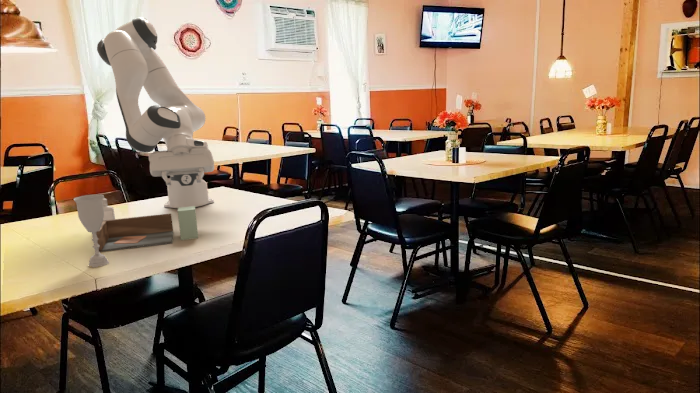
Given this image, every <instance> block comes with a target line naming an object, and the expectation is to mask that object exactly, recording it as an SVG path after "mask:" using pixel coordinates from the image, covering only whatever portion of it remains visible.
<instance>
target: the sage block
mask: <svg viewBox="0 0 700 393" xmlns="http://www.w3.org/2000/svg"><path fill="white" fill-rule="evenodd" d="M177 216H178V217H177V218H178V225H179V226H178V227H179V234H180V240H181V241H185V240H193V239H194V240H195V239H199V232H198V224H197V223H198V222H197V211H196V207H195V206H190V207H180V208H177Z"/></svg>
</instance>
